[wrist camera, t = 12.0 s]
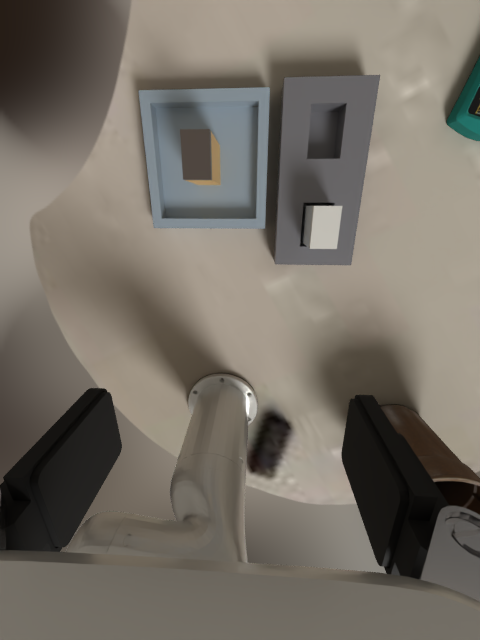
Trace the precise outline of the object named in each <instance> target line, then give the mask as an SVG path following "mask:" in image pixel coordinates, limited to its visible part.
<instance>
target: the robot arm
mask: <svg viewBox="0 0 480 640" xmlns="http://www.w3.org/2000/svg"><path fill="white" fill-rule="evenodd" d="M188 407H189V410H190V413H191V415H192V417H191V420H190V423H189V426H188V429H187V432H186V436H185V439H184V442H183V445H182V448H181V451H180V454H179V457H178V461H177V464H176V467H175V470H174V473H173V476H172V480H171V486H170V499H171V504H172V508H173V512H174V515H175V518H176V521H174V520H164V519H158V518H153V517H148V516H142V515H136V514H131V513H124V512H117V511H105V512H100V513H97V514H95V515H93V516H91V517H90V518H89V519H88V520H86V521H85V522H84V523H83V524H82V526H81V527H80V528H79V529H78V531H77V532H76V530H77V528H78V526H79V525H80V523H81V521H82V519H83V518H84V516H85V514H86V512H87V511H88V509H89V507H90V505H91V503H92V502H93V500H94V498H95V497H96V495H97V493H98V491H99V490H100V488H101V486H102V484H103V483H104V481H105V479H106V477H107V476H108V474H109V472H110V470H111V469H112V467H113V465H114V463H115V462H116V460H117V458H118V456H119V455H120V452H121V448H122V444H121V439H120V434H119V429H118V425H117V420H116V415H115V410H114V406H113V401H112V396H111V394H110V393H109V392H107V390H106V389H102V388H90V389H88V390H87V391H86V392H85V393H84V394H83V395H82V396H81V397H80V398H79V399H78V400H77V401H76V402H75V403H74V404H73V405H72V406H71V407H70V409H69V410H68V411H67V412H66V413H65V414H64V415H63V416H62V417H61V418H60V419H59V420H58V421H57V422H56V423H55V424H54V425H53V426H52V427H51V428H50V429H49V430H48V431H47V432H46V433H45V435H43V436H42V438H41V439H40V440H39V441H38V442H37V443H36V444H35V445H34V446H33V447H32V448H31V449H30V450H29V451H28V452H27V453H26V454H25V455H24V456H23V457H22V458H21V459H20V460H19V461H18V462H17V463H16V464H15V466H13V468H12V469H11V470H10V471H9V472H8V473H7V474H6V475H5V476H4V477H3V478H4V482H3V483H2V484H1V485H0V640H480V515H479V514H477V513H476V512H473V511H471V510H469V509H467V508H463V507H459V506H450V505H449V504H448V502H447V501H446V499H445V498H444V496H443V495H442V493H441V492H440V490H439V489H438V487H437V486H436V484H435V483H434V481H433V480H432V478H431V477H430V475H429V474H428V472H427V471H426V469H425V468H424V466H423V465H422V463H421V462H420V460H419V458H418V457H417V455H416V454H415V452H414V451H413V449H412V448H411V446H410V445H409V443H408V442H407V440H406V439H405V437H404V436H403V435H402V434H400V433H397V432H396V431H395V429H394V427H393V426H392V424H391V423H390V421H389V420H388V418H387V416H386V415H385V413H384V412H383V410H382V409H381V407H380V406H379V404H378V402H377V401H376V399H375V398H374V397H373V396H372V395H356V396H355V399H351V400H350V403H349V409H348V416H347V422H346V428H345V435H344V441H343V447H342V462H343V465H344V468H345V471H346V474H347V476H348V479H349V482H350V485H351V488H352V491H353V494H354V497H355V500H356V503H357V505H358V508H359V511H360V514H361V517H362V520H363V523H364V526H365V529H366V531H367V534H368V537H369V540H370V543H371V546H372V549H373V552H374V555H375V558H376V560H377V562H378V564H379V565H380V566H384V568H385V570H386V573H387V574H384V573H376V572H365V571H353V570H341V569H329V568H317V567H302V566H287V565H273V564H258V563H248V562H247V552H246V542H245V518H244V508H245V482H246V461H247V439H248V425H249V424H250V423H251V422H252V421H253V419H254V418H255V416H256V414H257V409H258V401H257V396H256V394H255V392H254V390H253V389H252V387H251V386H250V385H249V384H248V383H247V382H246V381H244V380H242V379H241V378H239V377H236V376H234V375H230V374H221V373H220V374H212V375H209V376H206V377H204V378H202V379H200V380H199V381H198V382H197V383H196V384H195V385H194V386H193V388H192V390H191V392H190V395H189V399H188ZM75 532H76V534H75V535H74V533H75ZM73 535H74V537H73ZM72 537H73V538H72ZM71 539H72V540H71ZM70 540H71V542H70ZM69 542H70V544H69V546H68V548H67V550H66V552H60V550H61V549H62V547H65V546H66V545H68V543H69Z"/></svg>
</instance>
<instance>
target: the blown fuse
mask: <svg viewBox="0 0 480 640" xmlns="http://www.w3.org/2000/svg"><path fill="white" fill-rule="evenodd" d="M180 138H181V154H182V171H183V180H186V181H188V182H191V183H194V184H197V185H221V176H220V145H219V143H218V142H217V140H216V138H215V137H214V135H213V134H212V132H211V130H210V129H180Z"/></svg>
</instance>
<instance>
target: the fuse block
mask: <svg viewBox="0 0 480 640" xmlns="http://www.w3.org/2000/svg"><path fill="white" fill-rule="evenodd" d="M379 79H380V75H358V76H319V77H284V82H283V87H282V98H281V119H280V140H279V162H278V183H277V204H276V225H275V246H274V262H275V264H294V265H351V262H352V255H353V249H354V242H355V236H356V229H357V223H358V216H359V210H360V203H361V197H362V190H363V184H364V177H365V171H366V164H367V158H368V151H369V145H370V138H371V132H372V125H373V119H374V112H375V106H376V99H377V93H378V86H379ZM303 206H342V213H341V221H340V229H339V236H338V244H337V249H310V248H308V247H307V246H306V245H305V244H303V243H302V242H301V241H300V239H301V227H302V215H303Z"/></svg>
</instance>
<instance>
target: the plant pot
mask: <svg viewBox="0 0 480 640" xmlns="http://www.w3.org/2000/svg"><path fill="white" fill-rule="evenodd" d="M380 407H381V409H382V410H383V412H384V413H385V415H386V416H387V418H388V420H389V421H390V423H391V424H392V426H393V427H394V429H395V431H396V432H397V433H400V434H402V435H403V436H404V437H405V439H406V440H407V442H408V443H409V445H410V446H411V448H412V449H413V451H414V452H415V454H416V455H417V457H418V458H419V460H420V462H421V463H422V465H423V466H424V468H425V469H426V471H427V472H428V474H429V475H430V477H431V478H432V480H433V481H434V483H435V484H436V486H437V487H438V489H439V490H440V492H441V493H442V495H443V496H444V498H445V499H446V501H447V502H448V504H449V505H450V506H459V507H463V508H467V509H469V510H471V511H473V512H476V513H477V514H479V515H480V478H479V477H478V476H477V475H476V474H475V473H474V472H473V471H472V470H471V469H470V468H469V467H468V466H467V465H465V464H463V463H462V462H461V461H460V460H459V459H458V458H457V456H456V455H455V454H454V453H453V452H452V451H451V450H450V449H449V448H448V447H447V446H446V445H445V443H444V442H443V441H442V440H441V439H440V438H439V437H438V436H437V435H436V434H435V432H434V431H433V430H432V429H431V428H430V427H429V426H428V425H427V424H426V423H425V421H424V420H423V419H422V418H421V417H420V416H419V415H418V414H417V413H416V412H415V411H412V410H410V409H408V408H407V407H405V406H401V405H384V406H380Z"/></svg>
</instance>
